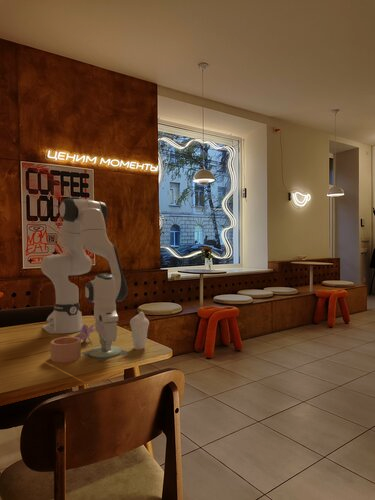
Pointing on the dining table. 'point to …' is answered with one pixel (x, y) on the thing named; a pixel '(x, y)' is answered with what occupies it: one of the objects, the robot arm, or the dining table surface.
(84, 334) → the lily
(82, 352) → the mat
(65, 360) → the bowl
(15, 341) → the dining table surface
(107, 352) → the lid
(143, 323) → the soft serve ice cream cone
